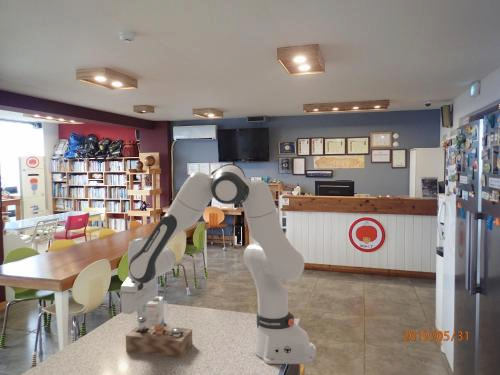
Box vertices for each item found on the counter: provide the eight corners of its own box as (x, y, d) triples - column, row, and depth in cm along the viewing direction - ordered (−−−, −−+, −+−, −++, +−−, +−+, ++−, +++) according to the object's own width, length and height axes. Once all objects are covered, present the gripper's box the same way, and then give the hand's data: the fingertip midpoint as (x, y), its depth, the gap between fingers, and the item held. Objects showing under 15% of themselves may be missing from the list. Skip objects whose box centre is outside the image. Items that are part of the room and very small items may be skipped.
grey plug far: (149, 332, 139) (148, 316, 139) (144, 336, 136) (144, 320, 135) (140, 331, 140) (140, 315, 140) (135, 335, 136) (135, 319, 136)
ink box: (164, 322, 159) (163, 292, 158) (159, 331, 150) (158, 299, 150) (145, 322, 159) (144, 292, 158) (138, 331, 151) (137, 299, 150)
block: (192, 344, 139) (192, 329, 138) (181, 357, 129) (181, 341, 128) (140, 338, 144) (140, 323, 143) (126, 351, 134) (125, 335, 134)
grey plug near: (183, 344, 136) (183, 327, 136) (179, 349, 132) (179, 332, 132) (174, 343, 137) (174, 327, 136) (170, 348, 133) (169, 331, 133)
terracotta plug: (166, 340, 138) (165, 324, 137) (161, 345, 134) (161, 328, 134) (157, 339, 138) (157, 323, 138) (153, 344, 135) (152, 327, 134)
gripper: (147, 271, 147) (148, 305, 148) (117, 288, 127) (118, 326, 128) (161, 272, 146) (162, 306, 146) (133, 289, 126) (134, 328, 127)
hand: (141, 316), depth 137 cm, fingers closed
